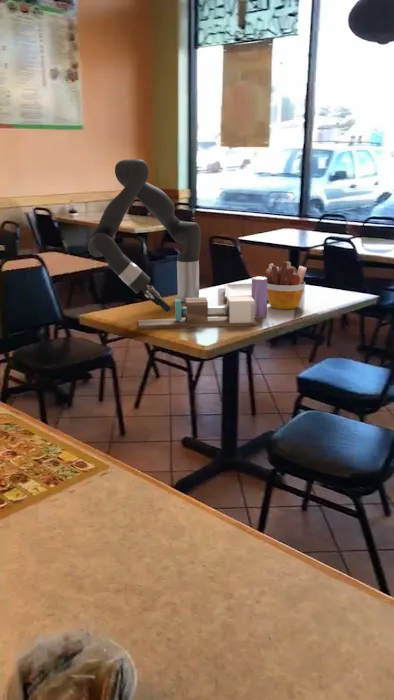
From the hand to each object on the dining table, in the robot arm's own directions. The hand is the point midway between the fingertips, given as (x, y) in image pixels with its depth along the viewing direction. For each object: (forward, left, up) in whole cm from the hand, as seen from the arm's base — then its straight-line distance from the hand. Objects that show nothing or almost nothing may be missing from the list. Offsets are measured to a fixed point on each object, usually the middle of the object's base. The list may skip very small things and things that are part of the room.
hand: (169, 310), depth 232 cm
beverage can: (-9, +35, -6) cm, 36 cm away
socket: (0, +26, -6) cm, 27 cm away
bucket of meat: (-24, +48, -6) cm, 54 cm away
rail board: (0, +10, -6) cm, 12 cm away
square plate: (-47, +40, -6) cm, 62 cm away
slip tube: (0, +15, -4) cm, 15 cm away
